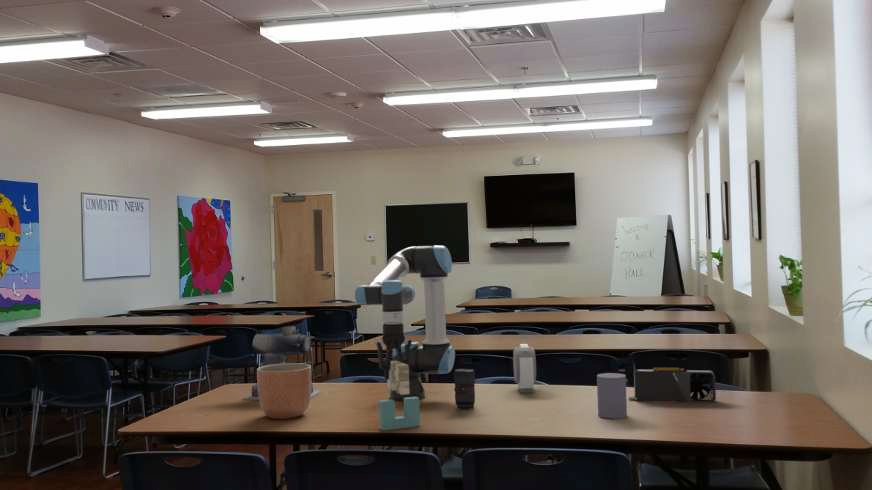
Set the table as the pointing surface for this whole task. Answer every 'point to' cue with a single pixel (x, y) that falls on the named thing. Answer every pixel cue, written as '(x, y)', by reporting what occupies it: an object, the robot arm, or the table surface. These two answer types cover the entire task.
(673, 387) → the graphics card
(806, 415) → the table surface
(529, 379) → the alarm clock
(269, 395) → the planter
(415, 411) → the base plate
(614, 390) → the container
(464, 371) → the camera lens
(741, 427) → the table surface
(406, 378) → the upper plate
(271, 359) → the grinder
